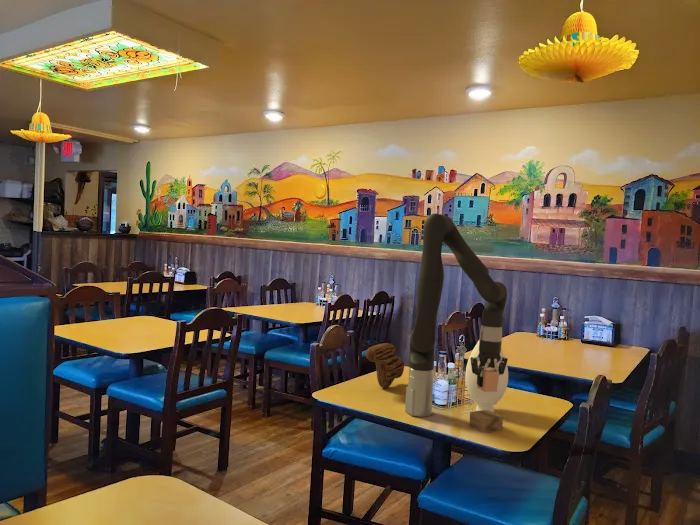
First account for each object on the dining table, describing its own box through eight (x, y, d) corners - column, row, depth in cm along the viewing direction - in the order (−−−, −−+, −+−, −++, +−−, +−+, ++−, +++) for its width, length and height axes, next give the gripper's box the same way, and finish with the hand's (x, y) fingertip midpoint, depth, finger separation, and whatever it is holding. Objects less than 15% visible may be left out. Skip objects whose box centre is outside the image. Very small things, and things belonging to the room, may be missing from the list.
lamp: (456, 410, 213) (461, 320, 211) (475, 401, 225) (480, 317, 223) (494, 420, 203) (499, 326, 201) (512, 411, 215) (517, 322, 213)
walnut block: (484, 433, 189) (485, 419, 189) (469, 425, 196) (470, 412, 196) (502, 430, 193) (502, 416, 193) (486, 423, 200) (487, 409, 200)
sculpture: (391, 381, 252) (393, 337, 251) (406, 384, 247) (408, 340, 246) (359, 393, 230) (361, 346, 229) (375, 397, 226) (377, 349, 225)
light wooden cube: (477, 387, 195) (478, 368, 195) (489, 387, 197) (490, 368, 196) (484, 391, 190) (486, 372, 190) (497, 391, 192) (498, 371, 192)
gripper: (502, 336, 198) (498, 382, 199) (467, 336, 194) (463, 383, 195) (514, 340, 191) (510, 388, 192) (478, 340, 187) (474, 390, 188)
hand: (487, 386), depth 194 cm, fingers closed on light wooden cube, 5 cm apart
